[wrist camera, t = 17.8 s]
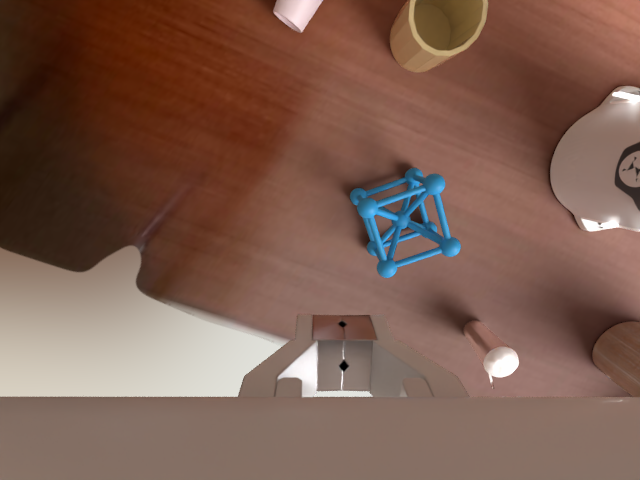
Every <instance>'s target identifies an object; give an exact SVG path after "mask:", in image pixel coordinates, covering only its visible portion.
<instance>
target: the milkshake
mask: <svg viewBox="0 0 640 480" xmlns="http://www.w3.org/2000/svg"><path fill="white" fill-rule="evenodd" d="M463 333H464V335H465V336H466V338H467V339H468V341H469V343H470V344H471V346H472V347H473V349H474V351H475V352H476V354H477V356H478V358H479V360H480V361H481V363H482V365H483V367H484V368H485V370H486V371H487V373H489V378H490V382H491V387H492V388H493V389H494V385H493V381H492V376H495V377H505V376H508V375H510V374H511V373H513V372H514V371H515V370H516V368H517V367H518V365H519V359H518V356H517V353H516V352H515V351H514V350H513V349H511V348H510V347H509V346H508V345H507V344H505V343H504V342H503V341H502V340H501V339H499V338H498V337H497V336H496V335H495V334H494V333H493V332H492V331H490V330H489V329H488V328H487V327H486V326H485V325H484V324H483V323H482V322H480V321H476V320H473V321H470V322H468V323H467V324H466V325H465V326H464V331H463ZM491 375H492V376H491Z"/></svg>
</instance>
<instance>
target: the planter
mask: <svg viewBox="0 0 640 480" xmlns="http://www.w3.org/2000/svg"><path fill="white" fill-rule="evenodd" d="M593 361H594V364H595V365H596V367H597V368H598V369H599V370H600V371H602V372H603V373H604V374H605V375H606V376H607V377H609V378H610V379H611V380H612V381H614V382H615V383H616V384H617V385H619V386H620V387H621V388H622V389H624V390H625V391H626V392H627V393H628V394H630V395H631V396H632V397H640V322H633V321H632V322H624V323H620V324H617V325H615V326H613V327H611V328H610V329H608V330H607V331H606V332H604V333H603V334H602V335H601V336H600V337H599V339H598V340H597V342H596V344H595V346H594V349H593Z"/></svg>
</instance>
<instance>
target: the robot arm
mask: <svg viewBox="0 0 640 480" xmlns="http://www.w3.org/2000/svg"><path fill="white" fill-rule="evenodd" d="M630 99H631V100H630ZM550 179H551V185H552V189H553V191H554V194H555V196H556V197H557V199H558V200H559V201H560V203H561V204H562V205H563V206H565V207H566V208H567V209H568V210H570V211H571V212H572V213H573V214H574V216H575V219H576V221H577V224H578V226H579V227H580V228H581V229H582V230H585V231H598V230H604V229H609V228H615V227H620V228H624V229H629V230H633V231H640V88H637V87H633V86H620V87H617V88H616V89H614V90H613V91H612V92H611V93H610V94H609V95H608V97H607V98H606V99H605V100H604V101H603V102H602V104H601V105H600V106H599V107H597V108H596V109H594V110H593V111H591V112H590V113H588V114H586V115H585V116H583V117H582V118H580V119H579V120H578V121H577V122H575V123H574V124H573V125H572V126H571V127H570V128H569V129H568V131H567V132H566V133H565V134H564V136H563V137H562V138H561V140H560V142H559V144H558V145H557V147H556V150H555V152H554V155H553V158H552V162H551V169H550ZM597 222H598V223H597ZM338 390H340V391H342V390H344V391H370V393H371V394H372V396H373V397H314V395H315V394H316V391H338ZM0 480H640V397H470V396H469V395H468V393H467V391H466V390H465V388H464V386H463V385H462V383H461V381H460V380H459V378H458V377H457V376H456V375H454V374H452V373H451V372H449V371H447V370H446V369H444V368H443V367H441V366H439V365H438V364H436V363H435V362H433V361H431V360H430V359H428V358H426V357H425V356H423V355H422V354H420V353H418V352H417V351H415V350H413V349H412V348H410V347H409V346H407V345H405V344H404V343H402V342H401V341H395V339H394V337H393V335H392V332H391V330H390V327H389V325H388V322H387V320H386V317H385V316H384V315H313V322H312V314H304V315H298V316H297V323H296V332H295V340H290V341H289V342H288V343H287V344H285V345H284V346H283V347H281V348H280V349H279V350H277V351H276V352H275V353H274V354H272V355H271V356H270V357H268V358H267V359H266V360H265V361H263V362H262V363H261V364H259V365H258V366H257V367H255V368H254V369H253V370H252V371H250V372H249V373H248V374H246V375H245V376H244V379H243V382H242V385H241V388H240V392H239V395H238V397H0Z"/></svg>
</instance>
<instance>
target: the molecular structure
mask: <svg viewBox="0 0 640 480" xmlns="http://www.w3.org/2000/svg"><path fill="white" fill-rule="evenodd" d="M404 183H407V184H409V185H408V188H407V191H404V192H401V193H398V194H396V195H393V196H390V197H387V198H384V199H382V200H379V201H375V200H374V199H372V198H367V196H370V195H373V194H376V193H378V192H381V191H384V190H387V189H390V188H392V187H395V186H398V185H401V184H404ZM420 183H422V184H423V185H421V186H419V184H420ZM444 187H445V180H444V178H443V177H442V176H441V175H439V174H430V175H428V176H427V177H426V178H424V177H423V174H422V172H421V171H420V170H419V169H417V168H411V169H409V170H408V171H407V172H406V174H405V177H404V178H401V179H399V180H396V181H393V182H390V183H387V184H385V185H382V186H379V187H376V188H373V189H371V190H368V191H365V190H364V189H362V188H356V189H354V190H353V191H352V192H351V194H350V200H351V202H352V203H353V204H355V205H357V211H358V213H359V215H360V216H361V217H363V220H364V223H365V226H366V229H367V232H368V235H369V238H370V242H369V243H368V245H367V250H368V252H369V253H370V254H371V255H373V256H377V257H378V259H379V262H378V264H377V271H378V273H379V274H380V275H381V276H382V277H385V278H389V277H392V276H393V275H394V274H395V273H396V271H397V268H398V267H401V266H404V265H407V264H410V263H413V262H416V261H419V260H422V259H425V258H428V257H431V256H433V255H436V254H439V253H442V254H443V255H445V256H448V257H452V256H455V255H457V254H458V253H459V251H460V248H461V245H460V242H459V241H458V240H457V239H456V238H454V237H451V236H450V232H449V228H448V224H447V220H446V216H445V212H444V208H443V204H442V200H441V196H440V193H441V192H442V191H443V189H444ZM421 192H422V193H421ZM415 194H416V198H417V199H416V200H415V201H414V202H413V203H412V204H411V205H410V206H409V207H408V205H409V201H410V198H411V196H412V195H415ZM429 194H430V195H433V197H434V201H435V205H436V209H437V212H438V216H439V220H440V224H441V228H442V232H443V235H444V238H443V237H442V236H440V235H439V234H438V233H436V232H437V227H436V225H435V224H434V223H433V222H430V221H429V220H428V217H427V213H426V209H425V206H424V202H423V200H424V199H425V198H426V197H427V196H428V195H429ZM401 199H404V201H403V205H402V208H401V211H397V212H396V213H394V212H392V211H390V210H388V209H386V208H384V207H382V206H384V205H387V204H390V203H393V202H396V201H398V200H401ZM418 206H419V209H420V212H421V216H422V220H423V223H422V224H419V223H417V222H414V221H411V218H410V216H409V215H410V214H411V213H412V212H413V211H414V210H415V209H416V208H417V207H418ZM375 214H376V215H379V216H382V217H385V218H388V219H391V220H392V224H393V225H392V226H391V227H390V228H389V229H388V230H387V232H386V233H385V234H384V235H383V236H382V237H381V238H380V235H379V232H378V229H377V225H376V222H375V219H374V216H375ZM406 227H409V228H410V229H412V230H414V232H411V233H409V234H406V235H403V236H400V232H401V229H405V228H406ZM393 232H394V235H393V238H392V239H391V240H388V241H386V240H387V239H388V238H389V236H390V235H391V234H392V233H393ZM419 235H422V236H423V237H425V238H429V239H430V240H432V241H434V242H436V243H438V244H439V247H438V248H435V249H432V250H429V251H426V252H423V253H420V254H417V255H414V256H411V257H408V258H405V259H402V260H399V261H396V262H394V261H393V256H394V253H395V249H396V246H397V243H398V242H401V241H404V240H407V239H410V238H413V237H416V236H419ZM399 236H400V237H399ZM387 246H390V248H389V251H388V255H387V257H386V254H385V250H384V247H387Z"/></svg>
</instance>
